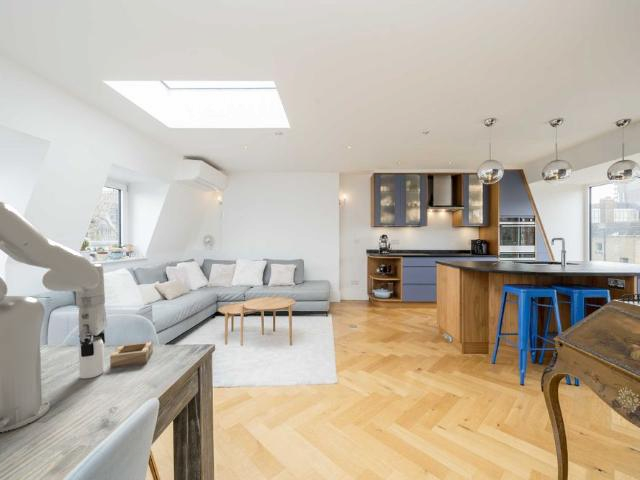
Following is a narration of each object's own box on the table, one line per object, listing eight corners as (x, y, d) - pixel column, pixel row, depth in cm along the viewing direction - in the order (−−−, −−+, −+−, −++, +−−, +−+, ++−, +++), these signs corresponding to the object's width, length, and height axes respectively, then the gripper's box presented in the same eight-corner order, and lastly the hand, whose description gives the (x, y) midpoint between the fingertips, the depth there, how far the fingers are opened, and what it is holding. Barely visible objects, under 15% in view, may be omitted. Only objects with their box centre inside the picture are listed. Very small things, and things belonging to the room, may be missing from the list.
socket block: (146, 363, 104) (146, 351, 104) (110, 369, 100) (110, 356, 100) (152, 352, 114) (152, 341, 114) (120, 356, 110) (120, 345, 110)
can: (108, 370, 99) (108, 336, 99) (92, 379, 92) (91, 343, 92) (92, 369, 99) (91, 335, 99) (74, 379, 93) (73, 342, 93)
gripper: (94, 306, 89) (97, 359, 90) (112, 293, 105) (115, 338, 106) (64, 308, 86) (67, 363, 87) (88, 295, 103) (90, 341, 104)
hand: (93, 349), depth 97 cm, fingers open, 9 cm apart
